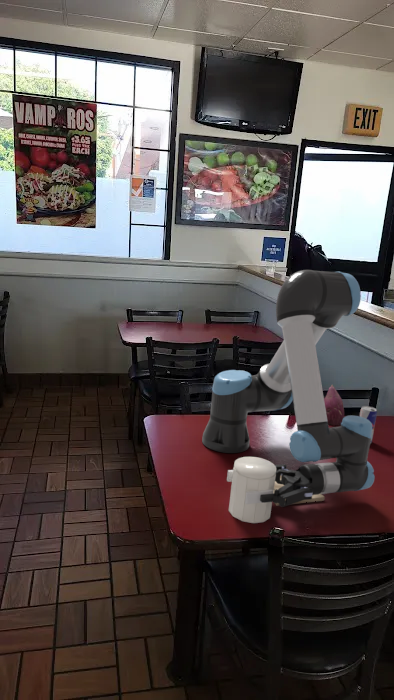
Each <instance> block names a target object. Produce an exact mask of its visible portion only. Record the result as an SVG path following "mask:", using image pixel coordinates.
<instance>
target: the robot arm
mask: <svg viewBox="0 0 394 700" xmlns="http://www.w3.org/2000/svg"><path fill="white" fill-rule="evenodd" d="M361 295H362V294H361V289H360V284H359V282H358V281H357V279H356V278H355V277H354V275H352V274H350V273H346V272H342V271H325V270H324V271H323V270H321V271H320V270H312V269H303V270H302V269H301V270H298V271H296V272H294V273H292V274H291V275H290V276H288V277H287V278H286V280H284V282H283V283H282V284H281V287H280V289H279V292H278V294H277V298H276V302H275V303H276V305H275V316H276V317H275V318H276V323H277V325H278V326H279V327H280V328H281V331H282V336H283V340H282V342H281V344H280V346H279V347H278V349H277V351H276V352H275V354H274V356H273V357H272V358H271V361H270V363H266V364H264V365H263V366H261V368H260V369H259V371H258V372H257V374H254V375H253V374H251V373H250V372H248V371H245V370H240V369H239V370H236V369H228V370H223V371H221V372H219V373H217V374H216V375H215V376H214V379H213V384H212V387H211V388H212V394H211V403H210V404H211V405H210V414H209V415H210V416H209V420H208V422H207V425H206V426H205V428H204V430H203V433H202V439H201V440H202V444H203V445H204V446H205V447H207V449H210V450H213V451H215V452H219V453H225V454H238V453H242V452H245V451H247V450H248V449H249V448H250V442H251V441H250V435H249V430H248V425H247V418H248V413H253V412H265V411H268V412H269V411H279V410H283V409H286V408H287V407H289V406H290V405H291V403H292V402H293V403H292V404H293V408H294V415H295V421H296V429H297V430H296V431H294V432H293V433H292V434H291V435H290V437H289V446H288V447H289V450H290V453H291V455H292V456H293V458H294V459H295V460H296V461H298V462H301V463H307V462H308V463H309V464H302V465H300V466H299V467H298V468H297V469H296V470H295V469H288V468H287V467H288V464H285V463H283V464H282V463H280V464H274V465H275V466H276V477H275V481H276V482H277V483H278V484H283V485H284V486H283V487H281V488H279V489H278V490H277V489H276V490H275V489H274V493H273V490H272V489H269V490H260V491H249V492H246V498H245V503H246V504H253V503H266V502H272V503H273V504H275V503H279V506H278V507H280V508H285V507H288V506H290V505H295V504H294V503H296V502H299V501H302V500H309V499H312V495H318V494H322V495H326V494H331V493H344V492H358V491H361V490H366V489H369V488H371V487H372V485H373V484H374V482H375V478H376V477H375V474H374V472H375V469H374V467H373V466H372V464H371V463H370V462H369V461H368V456H369V451H370V446H371V443H370V441H371V439H372V440H373V438H372V437H371V436H372V423H371V422H370V421H369V420H367V419H365V418H363V417H360V415H351V414H350V415H345V416H344V418H343V420H342V423H341V425H339V426H332V427H329V424H328V422H327V415H326V409H325V403H324V398H325V396H324V392H323V391H324V390H323V386H322V384H323V383H322V379H321V372H320V366H319V359H318V354H317V346H316V345H317V344H318V342H319V341H320V339H321V338H322V336H323V335H324V333H325V331H326V330H327V329H329V330H330V329H333V328H334V327H336V325H337V324H338V322H339V321H340V319H341V318H342V317H343V316H344V317H348V316H351V315H353V314H354V313H356V311H357V310H358V308H359V306H360V304H361V299H362V296H361ZM330 459H336V460H335V461H332V462H321V463H319V462H318V461H323V460H324V461H325V460H330ZM310 462H313V463H310ZM314 462H316V463H314ZM317 462H318V463H317ZM280 475H281V476H282V478H281V480H280ZM232 477H233V469H227V476H226V482H228V483H229V482H230V483H231V482H232ZM285 499H286V501H285Z"/></svg>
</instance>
